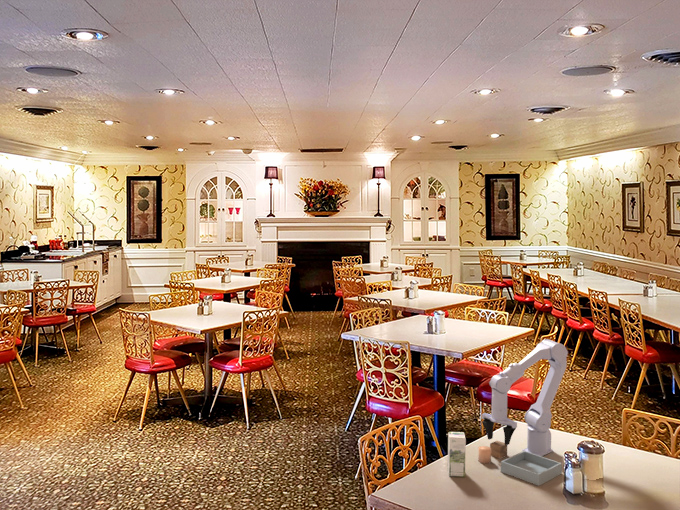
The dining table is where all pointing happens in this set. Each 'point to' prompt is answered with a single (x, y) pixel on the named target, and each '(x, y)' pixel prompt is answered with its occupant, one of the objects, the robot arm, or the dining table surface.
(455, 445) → the syrup box
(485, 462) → the peach rounded capsule
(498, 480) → the dining table surface
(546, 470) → the tote
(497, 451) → the walnut block
